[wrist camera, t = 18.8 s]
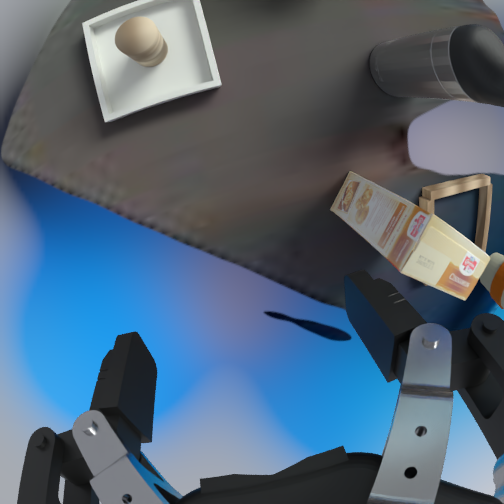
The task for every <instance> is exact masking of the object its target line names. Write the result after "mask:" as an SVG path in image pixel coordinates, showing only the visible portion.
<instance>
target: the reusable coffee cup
mask: <svg viewBox="0 0 504 504" xmlns="http://www.w3.org/2000/svg"><path fill="white" fill-rule="evenodd" d="M480 281H481V283H482V284H483V285H484V286H485V288H486V289H487V290H488V291H489V292H490V295H491V297H492V298H493V299H494V300H495V302H496V303H497V304H498V305H499V306H500V307H501V308H502V309H504V256H503V255H501V254H499V253H493V254H492V255H491V256H490V261H489V262H488V264H487V266H486V268H485V270H484V271H483V273H482V275H481V276H480Z"/></svg>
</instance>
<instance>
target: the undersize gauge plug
mask: <svg viewBox="0 0 504 504" xmlns="http://www.w3.org/2000/svg"><path fill="white" fill-rule="evenodd" d="M115 44H116V47H117V48H118V49H119V50H120V51H121V52H122V53H124V54H125V55H127V56H128V57H130V58H131V59H133V60H134V61H136V62H137V63H139V64H140V65H142V66H145V67H153V66H156V65H158V64H160V63H161V62H162V61H163V60H164V59H165V58H166V56H167V53H168V46H167V43H166V42H165V40H164V38H163V37H162V35H161V33H160V32H159V30H158V28H157V27H156V25H155V23H154V22H153V21H152V20H150V19H149V18H146V17H134V18H131V19H129V20H127V21H125V22H124V23H123V24H122V25H121V26H120V27H119V28H118V30H117V32H116V35H115Z"/></svg>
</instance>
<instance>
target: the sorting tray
mask: <svg viewBox="0 0 504 504" xmlns="http://www.w3.org/2000/svg"><path fill="white" fill-rule="evenodd" d="M134 17H146V18H149V19H150V20H152V21H153V22H154V23H155V25H156V27H157V28H158V30H159V32H160V33H161V35H162V37H163V38H164V40H165V42H166V43H167V46H168V53H167V56H166V58H165V59H164V60H163V61H162V62H161V63H160V64H158V65H156V66H153V67H145V66H142V65H140V64H139V63H137V62H136V61H134V60H133V59H131V58H130V57H128V56H127V55H125V54H124V53H122V52H121V51H120V50H119V49H118V48H117V47H116V44H115V35H116V32H117V30H118V28H119V27H120V26H121V25H122V24H123V23H124V22H125V21H127V20H129V19H131V18H134ZM83 29H84V35H85V40H86V45H87V50H88V55H89V60H90V65H91V69H92V73H93V78H94V82H95V86H96V90H97V94H98V98H99V102H100V106H101V110H102V113H103V117H104V121H105V122H112V121H115V120H117V119H120V118H122V117H125V116H128V115H130V114H133V113H136V112H139V111H141V110H144V109H147V108H150V107H153V106H156V105H159V104H162V103H165V102H168V101H172V100H175V99H178V98H181V97H185V96H188V95H192V94H196V93H199V92H203V91H207V90H211V89H215V88H219V87H221V85H222V84H221V81H220V77H219V73H218V69H217V65H216V61H215V57H214V53H213V49H212V45H211V42H210V38H209V34H208V30H207V26H206V22H205V19H204V15H203V11H202V7H201V3H200V0H138V1H135V2H133V3H130V4H127V5H124V6H122V7H119V8H117V9H114V10H111V11H109V12H107V13H104V14H102V15H99V16H97V17H95V18H93V19H90V20H88V21H86V22H84V23H83Z"/></svg>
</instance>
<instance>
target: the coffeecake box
mask: <svg viewBox="0 0 504 504" xmlns="http://www.w3.org/2000/svg"><path fill="white" fill-rule="evenodd" d="M330 211H332V212H334V213H335V214H336V215H337V216H339V217H340V218H341V219H342V220H343V221H345V222H346V223H347V224H348V225H349V226H350V227H352V228H353V229H354V230H355V231H356V232H357V233H358V234H360V235H361V236H362V237H363V238H364V239H365V240H366V241H367V242H369V243H370V244H371V245H372V246H373V247H374V248H375V249H376V250H377V251H379V252H380V253H381V254H382V255H383V256H384V257H385V258H386V259H387V260H388V261H389V262H390V263H391V264H392V265H393V266H395V267H396V268H397V269H398V270H399V272H400V273H403V274H405V275H407V276H409V277H411V278H414V279H416V280H418V281H420V282H423V283H425V284H427V285H430V286H432V287H434V288H437V289H439V290H441V291H444V292H446V293H448V294H450V295H453V296H455V297H457V298H460V299H462V300H464V301H465V300H466V299H467V297H468V296H469V295H470V293H471V291H472V290H473V288H474V287H475V285H476V283H477V281H478V280H479V278H480V276H481V275H482V273H483V271H484V270H485V268H486V266H487V264H488V262H489V261H490V257H489V256H488V255H487V254H486V253H485V252H484V251H482V250H481V249H480V248H479V247H477V246H476V245H475V244H474V243H472V242H471V241H470V240H468V239H467V238H466V237H464V236H463V235H462V234H461V233H459V232H458V231H456V230H455V229H454V228H452V227H451V226H450V225H448V224H447V223H445V222H444V221H443V220H441V219H440V218H438V217H437V216H435V215H434V214H431V213H429V212H427V211H425V210H424V209H422V208H420V207H418V206H417V205H415V204H413V203H411V202H410V201H408V200H406V199H404V198H402V197H400V196H398V195H396V194H395V193H393V192H391V191H389V190H387V189H385V188H383V187H381V186H379V185H377V184H375V183H373V182H371V181H369V180H367V179H365V178H363V177H361V176H359V175H357V174H355V173H353V172H351V171H349V173H348V175H347V177H346V179H345V181H344V184H343V186H342V187H341V189H340V191H339V193H338V195H337V197H336V198H335V200H334V203H333V205H332V207H331V208H330Z"/></svg>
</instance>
